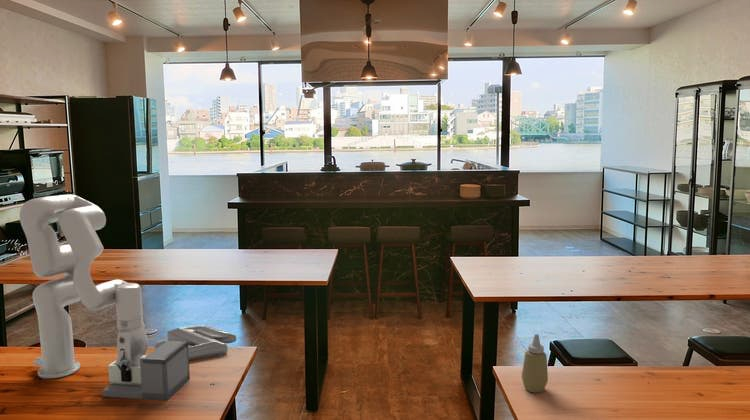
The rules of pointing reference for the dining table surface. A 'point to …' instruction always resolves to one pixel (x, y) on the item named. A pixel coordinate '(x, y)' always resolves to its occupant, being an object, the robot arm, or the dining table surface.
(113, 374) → the egg tray
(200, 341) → the emblem
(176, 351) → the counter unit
